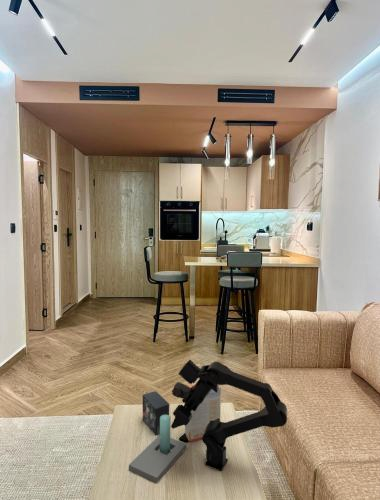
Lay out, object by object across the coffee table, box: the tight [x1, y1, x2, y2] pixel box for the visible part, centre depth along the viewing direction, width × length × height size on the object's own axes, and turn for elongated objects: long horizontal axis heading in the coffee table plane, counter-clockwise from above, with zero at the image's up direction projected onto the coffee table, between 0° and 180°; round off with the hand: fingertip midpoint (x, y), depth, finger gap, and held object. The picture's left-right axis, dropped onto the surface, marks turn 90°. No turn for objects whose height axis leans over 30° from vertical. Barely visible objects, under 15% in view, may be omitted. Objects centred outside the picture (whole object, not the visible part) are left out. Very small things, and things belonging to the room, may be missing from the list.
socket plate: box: [128, 434, 187, 484], centre depth 123 cm, size 12×20×2 cm, turn 151°
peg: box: [159, 414, 171, 455], centre depth 126 cm, size 4×4×14 cm
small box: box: [142, 390, 170, 436], centre depth 144 cm, size 13×7×12 cm, turn 33°
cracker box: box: [184, 384, 222, 442], centre depth 137 cm, size 14×6×21 cm, turn 108°
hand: (176, 421), depth 125 cm, fingers open, 9 cm apart
